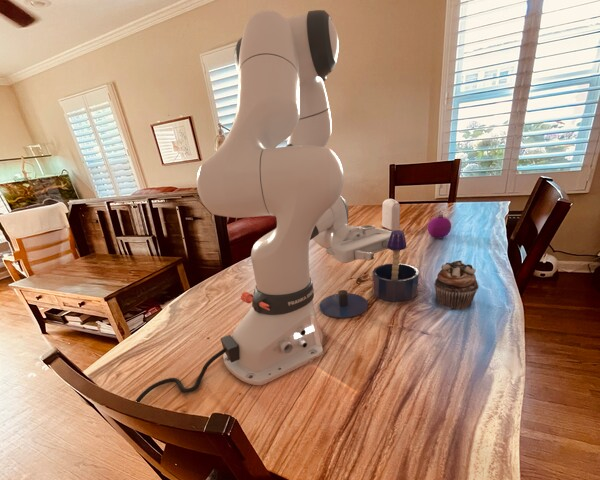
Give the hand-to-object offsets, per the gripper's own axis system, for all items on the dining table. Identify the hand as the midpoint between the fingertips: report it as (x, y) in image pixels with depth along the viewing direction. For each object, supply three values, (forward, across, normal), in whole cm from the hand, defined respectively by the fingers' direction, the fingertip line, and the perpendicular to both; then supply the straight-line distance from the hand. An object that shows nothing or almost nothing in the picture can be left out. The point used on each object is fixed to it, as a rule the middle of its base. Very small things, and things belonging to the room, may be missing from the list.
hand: (385, 252), depth 82 cm
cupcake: (+16, +7, +11) cm, 21 cm away
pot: (+4, 0, +11) cm, 12 cm away
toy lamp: (+4, 0, +11) cm, 11 cm away
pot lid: (0, -15, +10) cm, 18 cm away
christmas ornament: (-17, +46, +11) cm, 50 cm away
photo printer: (-40, +45, +11) cm, 61 cm away
